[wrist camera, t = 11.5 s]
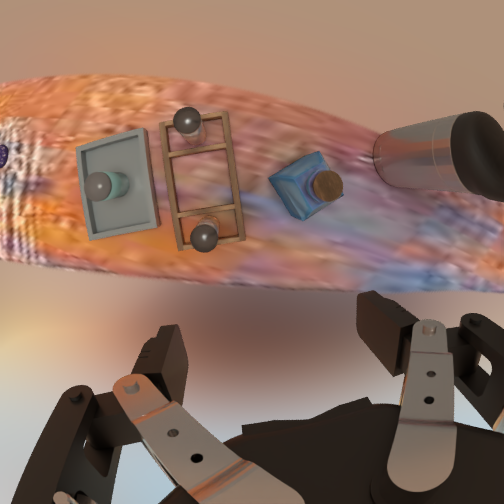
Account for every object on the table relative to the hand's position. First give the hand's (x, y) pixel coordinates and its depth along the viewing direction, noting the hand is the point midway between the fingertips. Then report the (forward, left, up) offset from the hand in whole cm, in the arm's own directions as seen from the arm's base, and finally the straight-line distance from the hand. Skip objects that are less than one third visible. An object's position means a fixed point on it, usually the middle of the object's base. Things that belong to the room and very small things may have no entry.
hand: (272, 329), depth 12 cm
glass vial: (+4, -14, -28) cm, 32 cm away
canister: (+4, -1, -28) cm, 28 cm away
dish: (+16, -9, -28) cm, 34 cm away
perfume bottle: (-9, -5, -28) cm, 30 cm away
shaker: (+16, -9, -27) cm, 33 cm away
